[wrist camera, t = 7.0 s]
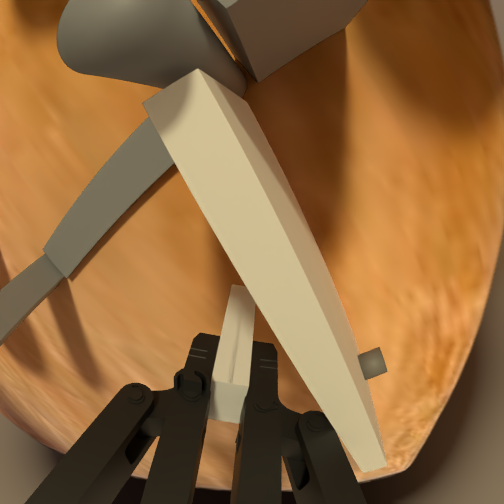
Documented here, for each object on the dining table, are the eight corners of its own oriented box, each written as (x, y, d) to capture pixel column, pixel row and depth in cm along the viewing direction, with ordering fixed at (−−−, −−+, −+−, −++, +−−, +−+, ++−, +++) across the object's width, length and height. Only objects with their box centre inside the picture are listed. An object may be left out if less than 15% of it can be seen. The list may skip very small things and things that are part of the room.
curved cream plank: (226, 113, 14) (141, 103, 5) (269, 92, 13) (260, 37, 4) (338, 342, 19) (363, 473, 10) (370, 329, 19) (411, 457, 10)
